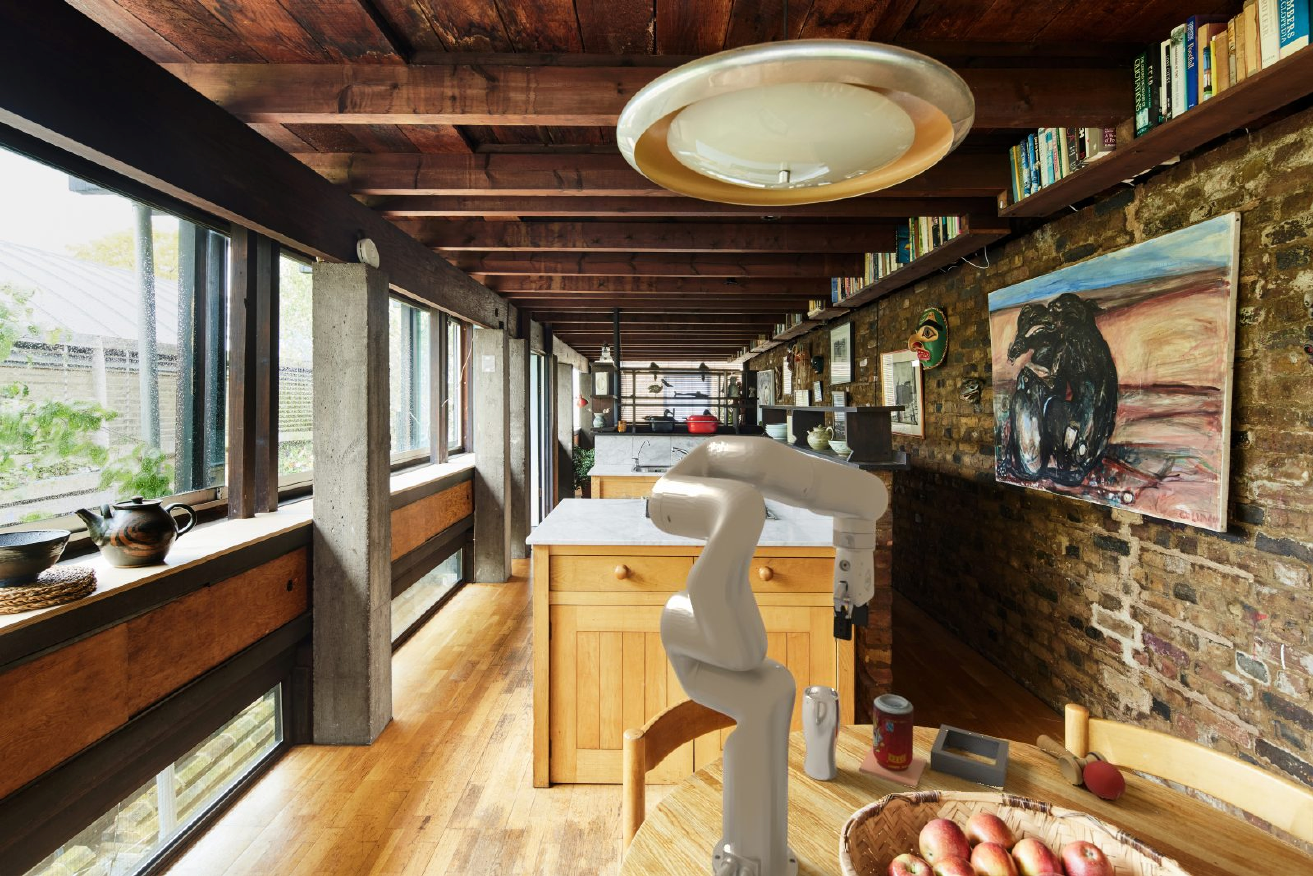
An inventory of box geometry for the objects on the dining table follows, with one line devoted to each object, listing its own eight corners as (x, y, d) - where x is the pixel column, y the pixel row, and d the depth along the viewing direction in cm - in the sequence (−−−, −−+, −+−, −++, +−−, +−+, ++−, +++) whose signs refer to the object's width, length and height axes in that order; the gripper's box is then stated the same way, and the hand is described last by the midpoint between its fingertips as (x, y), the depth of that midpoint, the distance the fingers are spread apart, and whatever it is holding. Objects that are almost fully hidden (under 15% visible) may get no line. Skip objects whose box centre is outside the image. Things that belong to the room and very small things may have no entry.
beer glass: (844, 782, 112) (845, 702, 111) (805, 782, 112) (806, 701, 111) (834, 760, 119) (835, 684, 118) (797, 760, 119) (798, 684, 118)
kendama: (1022, 758, 122) (1094, 803, 104) (1025, 725, 123) (1097, 764, 105) (1058, 763, 123) (1136, 809, 105) (1061, 730, 123) (1139, 770, 105)
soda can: (866, 753, 120) (868, 692, 119) (902, 753, 120) (904, 691, 120) (881, 775, 113) (882, 710, 112) (919, 774, 113) (920, 709, 113)
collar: (1003, 791, 109) (1003, 772, 109) (930, 769, 116) (930, 751, 116) (1008, 759, 119) (1009, 741, 119) (941, 740, 126) (941, 724, 126)
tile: (915, 789, 110) (915, 786, 110) (858, 771, 115) (859, 768, 115) (926, 762, 118) (926, 759, 118) (873, 746, 124) (873, 743, 124)
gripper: (859, 550, 105) (856, 649, 105) (887, 536, 119) (884, 624, 119) (817, 544, 109) (814, 640, 109) (848, 531, 123) (846, 616, 124)
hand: (851, 631), depth 114 cm, fingers open, 9 cm apart
